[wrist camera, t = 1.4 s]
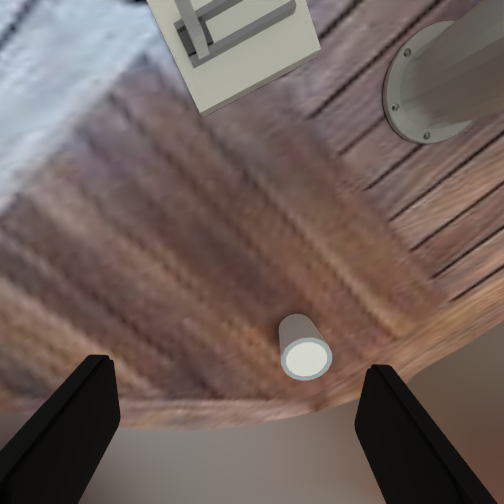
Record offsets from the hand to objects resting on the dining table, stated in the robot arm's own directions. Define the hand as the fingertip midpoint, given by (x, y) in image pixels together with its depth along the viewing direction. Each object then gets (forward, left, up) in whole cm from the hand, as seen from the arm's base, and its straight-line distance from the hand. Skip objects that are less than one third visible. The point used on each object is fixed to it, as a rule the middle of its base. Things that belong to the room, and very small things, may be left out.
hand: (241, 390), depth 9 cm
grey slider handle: (-5, -22, -24) cm, 33 cm away
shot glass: (-1, +17, -26) cm, 31 cm away
